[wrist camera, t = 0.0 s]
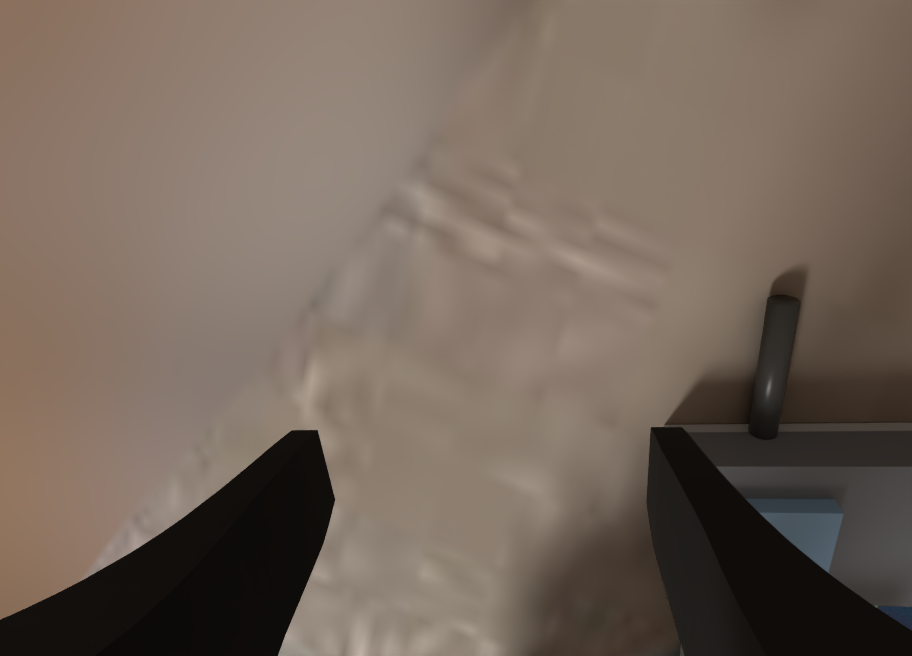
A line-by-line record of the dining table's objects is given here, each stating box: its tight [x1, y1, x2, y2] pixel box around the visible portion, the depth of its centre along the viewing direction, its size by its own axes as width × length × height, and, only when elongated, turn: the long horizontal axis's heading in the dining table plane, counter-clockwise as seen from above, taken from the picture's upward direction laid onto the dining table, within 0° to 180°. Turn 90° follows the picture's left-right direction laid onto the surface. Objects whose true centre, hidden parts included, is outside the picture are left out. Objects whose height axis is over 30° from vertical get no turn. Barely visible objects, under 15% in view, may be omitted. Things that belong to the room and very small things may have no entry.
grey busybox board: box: [662, 295, 912, 607], centre depth 22 cm, size 12×16×3 cm
